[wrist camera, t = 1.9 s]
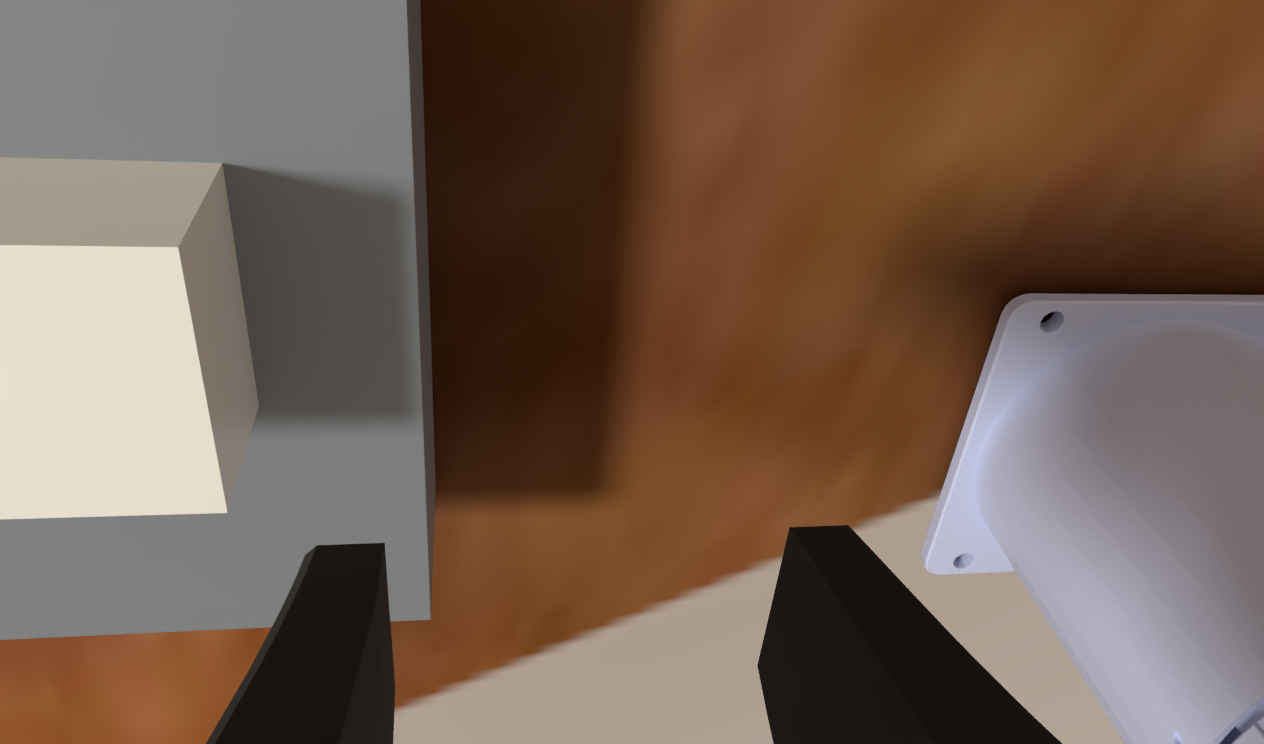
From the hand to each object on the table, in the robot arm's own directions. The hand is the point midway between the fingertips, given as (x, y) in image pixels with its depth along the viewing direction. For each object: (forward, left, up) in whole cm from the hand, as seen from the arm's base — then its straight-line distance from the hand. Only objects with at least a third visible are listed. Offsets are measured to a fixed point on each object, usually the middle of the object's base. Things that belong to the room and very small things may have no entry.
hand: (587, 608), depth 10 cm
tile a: (+6, 0, -6) cm, 9 cm away
